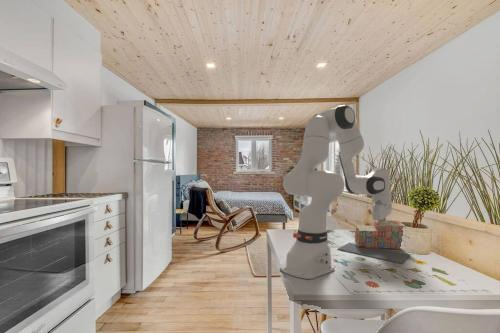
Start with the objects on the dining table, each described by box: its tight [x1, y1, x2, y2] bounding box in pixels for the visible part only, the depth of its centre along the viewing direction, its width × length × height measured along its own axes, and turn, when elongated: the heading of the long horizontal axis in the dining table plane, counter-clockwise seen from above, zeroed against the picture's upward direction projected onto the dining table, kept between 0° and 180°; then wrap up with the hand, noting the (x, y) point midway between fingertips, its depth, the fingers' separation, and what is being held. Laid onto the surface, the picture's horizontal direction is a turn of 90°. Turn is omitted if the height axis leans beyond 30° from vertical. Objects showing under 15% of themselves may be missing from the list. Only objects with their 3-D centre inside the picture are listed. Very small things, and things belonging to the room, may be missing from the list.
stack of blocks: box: [354, 219, 406, 250], centre depth 125 cm, size 21×6×12 cm, turn 84°
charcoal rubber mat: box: [336, 242, 411, 265], centre depth 118 cm, size 15×28×1 cm, turn 47°
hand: (382, 225), depth 129 cm, fingers closed
